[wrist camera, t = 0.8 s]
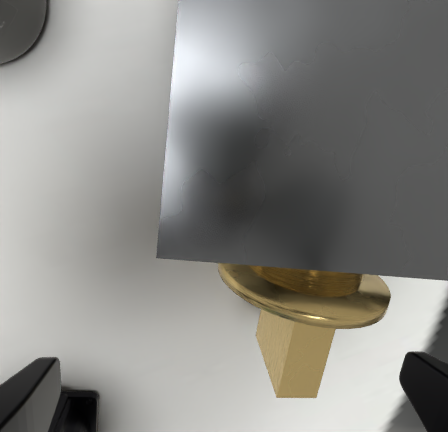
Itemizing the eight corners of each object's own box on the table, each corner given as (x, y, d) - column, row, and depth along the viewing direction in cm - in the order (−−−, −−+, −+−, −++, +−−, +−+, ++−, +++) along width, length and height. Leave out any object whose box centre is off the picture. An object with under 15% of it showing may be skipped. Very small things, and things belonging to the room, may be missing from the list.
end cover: (317, 315, 21) (396, 427, 13) (202, 309, 20) (212, 429, 12) (354, 169, 18) (484, 199, 10) (223, 151, 17) (256, 170, 9)
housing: (377, 219, 20) (522, 286, 11) (171, 196, 18) (156, 258, 9) (435, 21, 17) (695, -94, 8) (193, -36, 15) (202, -274, 6)
